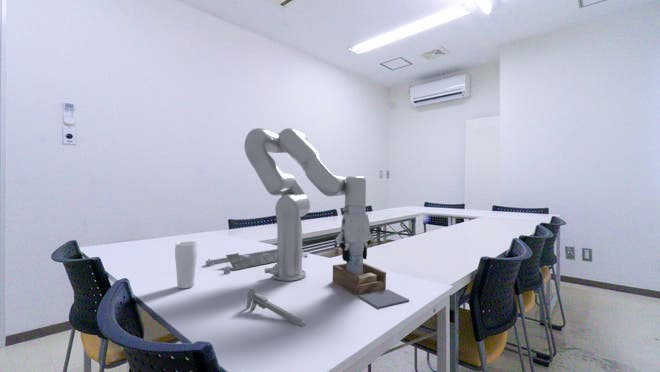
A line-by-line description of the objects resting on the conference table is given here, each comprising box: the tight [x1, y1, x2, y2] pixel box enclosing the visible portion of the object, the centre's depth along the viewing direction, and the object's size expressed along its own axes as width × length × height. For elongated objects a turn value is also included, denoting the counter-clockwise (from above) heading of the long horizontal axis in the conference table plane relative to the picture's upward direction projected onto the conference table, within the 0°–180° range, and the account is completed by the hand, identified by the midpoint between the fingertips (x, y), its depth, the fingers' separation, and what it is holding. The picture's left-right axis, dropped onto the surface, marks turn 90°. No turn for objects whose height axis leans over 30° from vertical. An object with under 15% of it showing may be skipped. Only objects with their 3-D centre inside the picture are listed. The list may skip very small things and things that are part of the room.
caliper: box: [246, 287, 306, 328], centre depth 80 cm, size 20×1×6 cm, turn 58°
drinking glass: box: [174, 240, 198, 290], centre depth 102 cm, size 7×7×15 cm
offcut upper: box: [357, 273, 377, 285], centre depth 101 cm, size 8×3×2 cm, turn 122°
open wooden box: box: [332, 262, 387, 297], centre depth 105 cm, size 12×16×6 cm
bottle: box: [346, 239, 364, 275], centre depth 107 cm, size 7×7×20 cm
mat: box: [357, 289, 410, 310], centre depth 93 cm, size 12×10×1 cm
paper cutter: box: [205, 248, 309, 275], centre depth 138 cm, size 18×45×6 cm, turn 133°
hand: (354, 259), depth 107 cm, fingers open, 6 cm apart
